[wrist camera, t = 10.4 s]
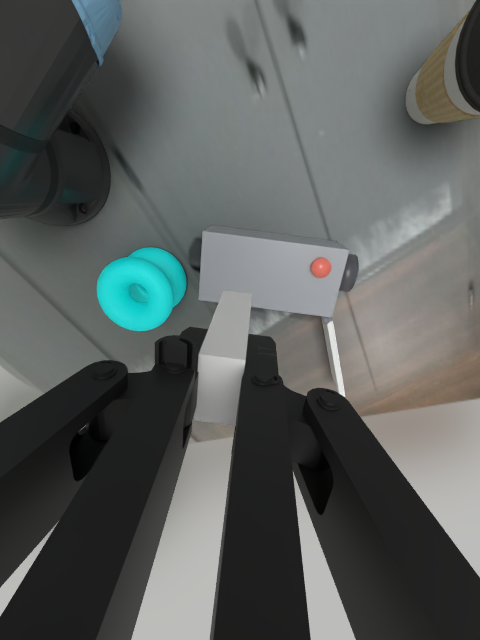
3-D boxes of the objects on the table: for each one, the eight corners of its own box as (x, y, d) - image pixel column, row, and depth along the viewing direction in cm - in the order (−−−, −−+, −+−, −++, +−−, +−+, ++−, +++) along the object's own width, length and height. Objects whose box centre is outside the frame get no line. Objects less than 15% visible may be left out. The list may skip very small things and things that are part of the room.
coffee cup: (467, 138, 36) (593, 105, 22) (384, 145, 37) (456, 117, 23) (489, 33, 32) (658, -85, 18) (395, 44, 33) (490, -61, 19)
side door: (338, 374, 50) (348, 398, 44) (328, 375, 50) (336, 399, 45) (325, 300, 45) (334, 316, 39) (314, 302, 45) (322, 318, 40)
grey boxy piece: (207, 285, 46) (197, 303, 39) (211, 225, 42) (201, 231, 35) (336, 303, 46) (350, 323, 38) (352, 243, 42) (371, 253, 35)
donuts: (121, 345, 40) (76, 279, 36) (147, 316, 49) (113, 262, 45) (184, 318, 37) (142, 245, 34) (199, 293, 47) (167, 234, 43)
